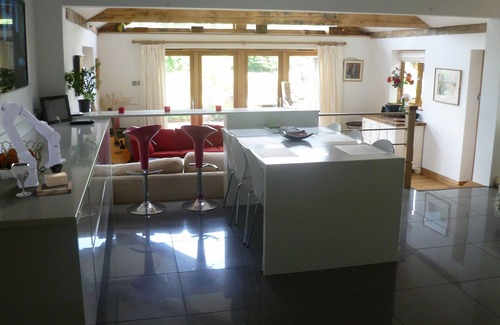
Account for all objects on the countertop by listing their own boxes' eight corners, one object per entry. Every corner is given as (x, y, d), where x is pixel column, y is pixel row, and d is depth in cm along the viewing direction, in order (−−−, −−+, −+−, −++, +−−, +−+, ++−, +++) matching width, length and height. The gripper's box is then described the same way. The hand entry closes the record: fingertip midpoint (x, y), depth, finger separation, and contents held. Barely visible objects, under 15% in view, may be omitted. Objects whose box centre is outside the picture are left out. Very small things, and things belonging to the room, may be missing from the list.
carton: (47, 187, 252) (46, 177, 251) (45, 184, 258) (44, 174, 257) (67, 184, 257) (67, 174, 256) (65, 181, 263) (64, 172, 262)
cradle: (36, 195, 237) (36, 191, 237) (39, 187, 251) (38, 183, 250) (71, 192, 242) (71, 188, 241) (72, 184, 255) (72, 181, 255)
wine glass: (13, 197, 235) (9, 167, 231) (16, 192, 242) (12, 163, 238) (31, 196, 237) (28, 165, 233) (33, 191, 244) (30, 162, 241)
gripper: (57, 150, 269) (59, 174, 272) (38, 155, 255) (41, 181, 258) (68, 151, 267) (70, 175, 270) (50, 156, 253) (52, 182, 256)
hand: (57, 178), depth 264 cm, fingers closed
